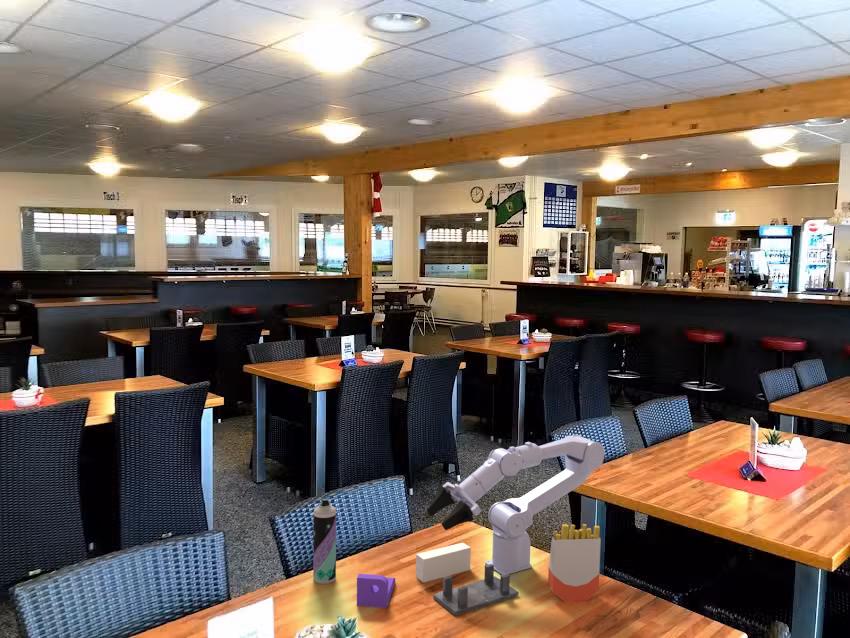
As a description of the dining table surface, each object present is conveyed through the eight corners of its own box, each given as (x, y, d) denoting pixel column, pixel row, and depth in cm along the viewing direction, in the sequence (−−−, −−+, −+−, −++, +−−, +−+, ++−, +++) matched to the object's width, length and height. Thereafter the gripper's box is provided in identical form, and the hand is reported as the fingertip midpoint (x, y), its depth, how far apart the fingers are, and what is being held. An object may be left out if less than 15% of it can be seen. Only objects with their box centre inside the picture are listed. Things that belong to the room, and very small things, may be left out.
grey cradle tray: (495, 580, 165) (495, 560, 164) (518, 595, 157) (519, 575, 157) (433, 598, 155) (433, 577, 155) (454, 616, 148) (455, 594, 147)
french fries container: (547, 592, 159) (549, 518, 158) (591, 590, 160) (594, 517, 159) (552, 602, 155) (555, 526, 153) (598, 600, 156) (601, 525, 154)
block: (462, 564, 173) (462, 542, 173) (470, 570, 170) (470, 547, 170) (415, 577, 166) (416, 554, 166) (423, 583, 163) (423, 559, 163)
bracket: (386, 609, 151) (386, 579, 150) (356, 606, 152) (356, 577, 151) (395, 584, 163) (395, 556, 162) (367, 582, 164) (367, 555, 163)
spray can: (309, 581, 163) (309, 501, 161) (320, 571, 168) (320, 494, 166) (328, 585, 161) (328, 504, 159) (339, 575, 166) (340, 497, 164)
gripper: (455, 462, 171) (414, 496, 167) (487, 484, 159) (443, 522, 155) (467, 481, 174) (426, 515, 170) (498, 505, 162) (456, 542, 157)
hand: (435, 520), depth 162 cm, fingers open, 7 cm apart
